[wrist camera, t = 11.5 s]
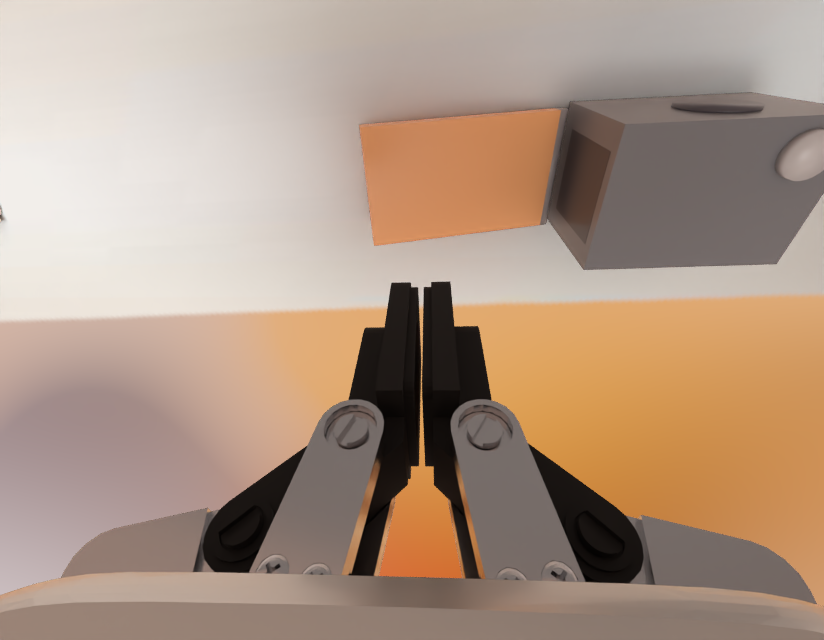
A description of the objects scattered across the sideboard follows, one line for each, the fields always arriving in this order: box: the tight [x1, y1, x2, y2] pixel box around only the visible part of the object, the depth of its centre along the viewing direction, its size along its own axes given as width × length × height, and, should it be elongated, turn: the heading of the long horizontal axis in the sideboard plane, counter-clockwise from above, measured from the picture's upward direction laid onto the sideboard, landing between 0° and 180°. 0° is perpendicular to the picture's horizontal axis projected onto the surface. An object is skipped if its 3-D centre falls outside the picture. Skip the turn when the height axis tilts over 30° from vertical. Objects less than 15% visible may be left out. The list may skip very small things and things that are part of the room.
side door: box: [359, 108, 568, 246], centre depth 21 cm, size 1×7×12 cm
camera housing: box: [547, 92, 824, 270], centre depth 19 cm, size 10×7×8 cm
